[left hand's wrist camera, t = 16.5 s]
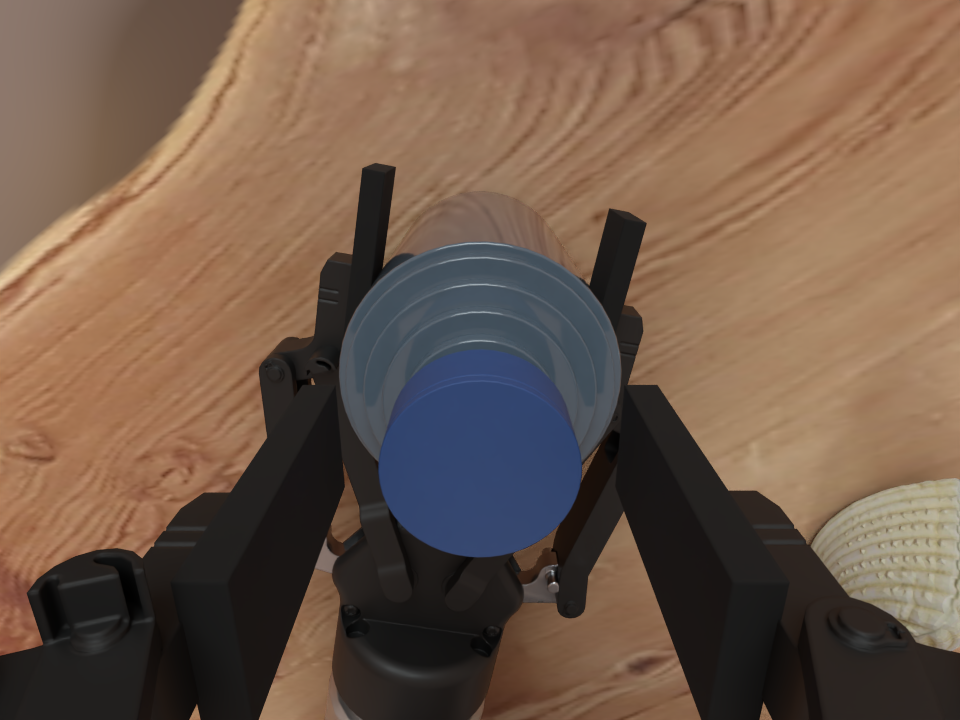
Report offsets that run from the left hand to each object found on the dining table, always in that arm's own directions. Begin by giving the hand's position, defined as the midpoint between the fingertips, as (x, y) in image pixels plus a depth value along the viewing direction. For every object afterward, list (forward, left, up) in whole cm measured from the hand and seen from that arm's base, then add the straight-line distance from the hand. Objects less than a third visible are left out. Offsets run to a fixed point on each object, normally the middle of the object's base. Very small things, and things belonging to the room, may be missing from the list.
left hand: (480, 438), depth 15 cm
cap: (0, 0, +1) cm, 1 cm away
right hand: (+3, -4, -9) cm, 10 cm away
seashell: (-27, -6, -16) cm, 32 cm away
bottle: (0, 0, -16) cm, 16 cm away
